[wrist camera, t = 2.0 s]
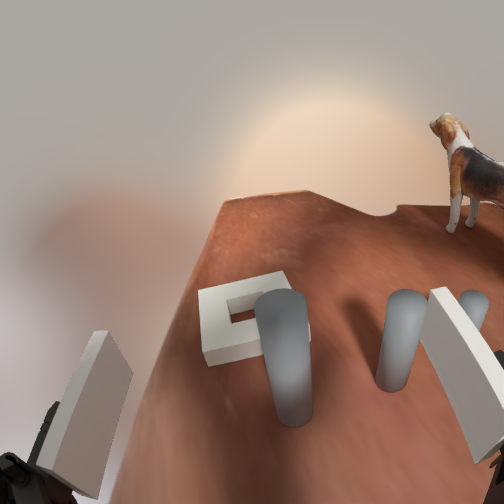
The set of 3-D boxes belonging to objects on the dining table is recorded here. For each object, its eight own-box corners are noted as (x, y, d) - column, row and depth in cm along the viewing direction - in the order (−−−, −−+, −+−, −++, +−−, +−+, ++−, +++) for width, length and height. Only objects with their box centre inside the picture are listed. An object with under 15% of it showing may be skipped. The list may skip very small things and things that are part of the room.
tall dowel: (307, 394, 33) (297, 283, 25) (317, 421, 29) (313, 313, 22) (273, 403, 33) (249, 295, 25) (281, 431, 29) (259, 328, 21)
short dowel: (460, 332, 35) (475, 286, 31) (476, 351, 31) (494, 304, 27) (440, 343, 34) (453, 296, 30) (455, 362, 31) (473, 315, 27)
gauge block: (284, 285, 52) (282, 270, 51) (311, 341, 40) (310, 325, 39) (202, 304, 51) (198, 290, 50) (208, 366, 39) (202, 352, 38)
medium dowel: (397, 362, 34) (413, 285, 28) (412, 384, 30) (435, 308, 25) (369, 373, 34) (380, 296, 28) (383, 397, 30) (401, 321, 24)
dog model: (442, 207, 68) (443, 109, 56) (562, 293, 32) (595, 156, 20) (414, 213, 68) (414, 109, 55) (539, 311, 32) (578, 156, 20)
